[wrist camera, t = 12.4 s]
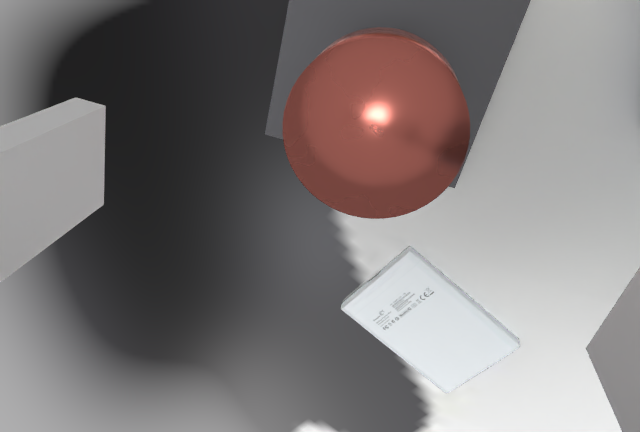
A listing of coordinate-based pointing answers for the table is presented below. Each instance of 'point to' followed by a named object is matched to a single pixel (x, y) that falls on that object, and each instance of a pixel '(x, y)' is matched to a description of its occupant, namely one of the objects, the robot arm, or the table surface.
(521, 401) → the table surface
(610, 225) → the table surface
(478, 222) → the table surface
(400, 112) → the copper round-headed piece
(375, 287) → the external hard drive
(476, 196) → the table surface
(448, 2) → the rubber mat
